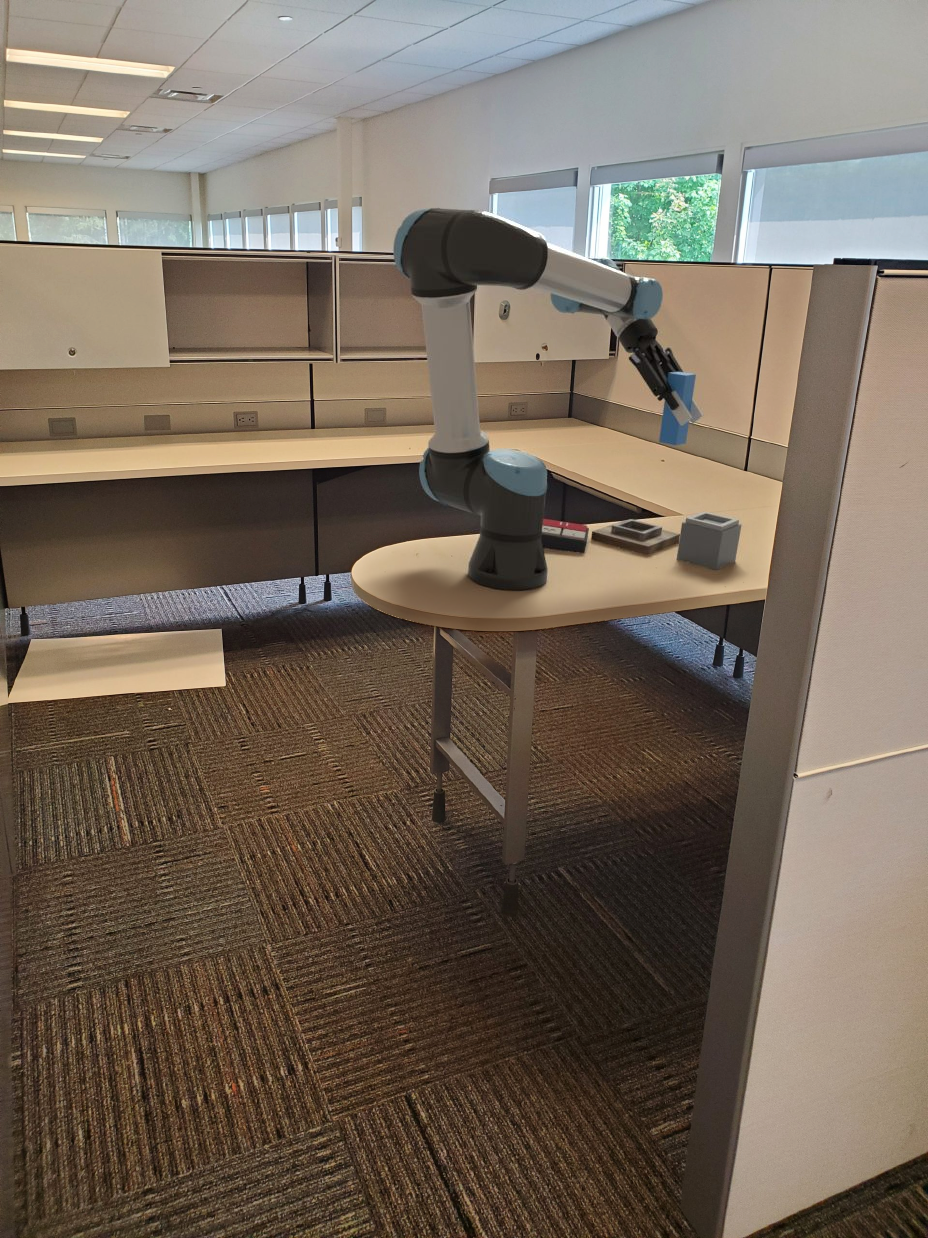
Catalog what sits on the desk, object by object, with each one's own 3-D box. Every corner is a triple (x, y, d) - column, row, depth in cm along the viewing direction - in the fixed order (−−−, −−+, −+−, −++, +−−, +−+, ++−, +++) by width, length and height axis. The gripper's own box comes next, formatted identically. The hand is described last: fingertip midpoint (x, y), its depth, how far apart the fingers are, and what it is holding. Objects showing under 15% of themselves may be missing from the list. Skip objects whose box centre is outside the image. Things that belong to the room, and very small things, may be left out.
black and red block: (586, 538, 195) (515, 526, 197) (583, 557, 197) (513, 546, 199) (589, 524, 205) (522, 513, 207) (586, 542, 207) (519, 532, 209)
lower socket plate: (647, 555, 197) (649, 539, 196) (591, 540, 205) (592, 524, 204) (678, 542, 207) (681, 527, 206) (624, 528, 215) (626, 513, 214)
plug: (675, 445, 191) (686, 375, 186) (659, 441, 194) (668, 372, 189) (685, 443, 194) (695, 374, 189) (668, 439, 197) (678, 371, 191)
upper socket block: (716, 570, 191) (723, 527, 187) (676, 559, 196) (682, 517, 193) (735, 561, 197) (742, 519, 194) (696, 550, 202) (702, 510, 199)
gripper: (622, 315, 185) (684, 412, 181) (667, 314, 197) (726, 405, 193) (597, 340, 190) (657, 435, 186) (642, 337, 202) (699, 427, 198)
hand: (692, 420), depth 190 cm, fingers closed on plug, 4 cm apart
